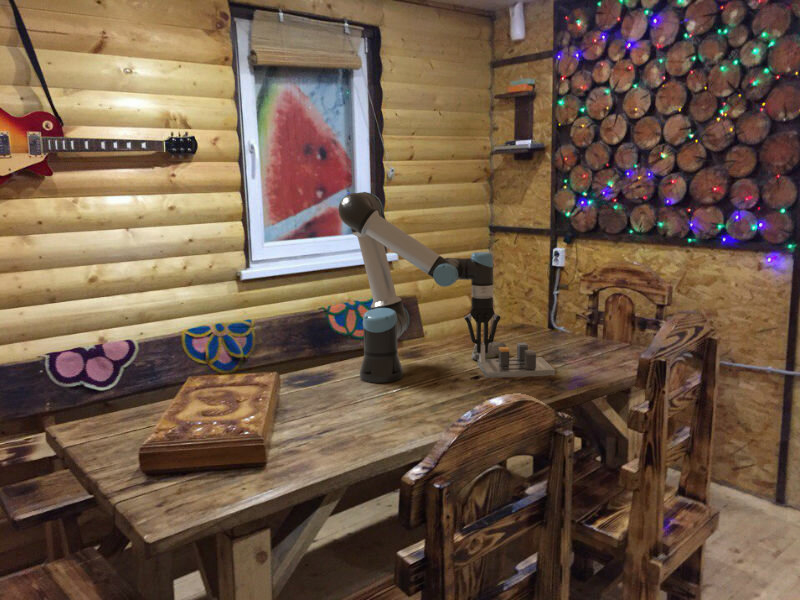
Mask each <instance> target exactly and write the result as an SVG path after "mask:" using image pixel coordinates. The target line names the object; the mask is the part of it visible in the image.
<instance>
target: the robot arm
mask: <svg viewBox="0 0 800 600" xmlns="http://www.w3.org/2000/svg"><path fill="white" fill-rule="evenodd" d="M383 211H384V207H383V203H382V202H381V200H380V198H379V197H378V196H377V195H375V194H373V193H371V192H367V191H362V192H352V193H348V194H346V195H345V196H343V197H342V199H341V200H340V202H339V205H338V216H339V218H340V219H341V221H342V222H343V223H344V224H345V225H346V226H348V227H349V228H351V229H350V231H351V234H352V235H354V236H355V237H357V240H358V244H359V249H360V253H361V256H362V260H363V263H364V268H365V272H366V276H367V281H368V284H369V289H370V292H371V296H372V299H373V300H372V302H371V305H370V309H369V310H367V311H366V312H365V313H364V314H363V319H362V329H363V330H362V331H363V350H364V351H363V359H362V363H361V366H360V369H359V378H360V379H361V381H364V382H367V383H375V384H376V383H377V384H378V383H379V384H381V383H385V384H386V383H392V382H396V381H399V380H401V379H402V378H403V376H404V371H403V369H404V368H403V366H402V364H401V363H402V362H401V360H400V357H399V355H398V339H399V337H401V336H403V335H404V334H405V333H406V331H407V330H408V327H409V325H410V314H409V312H408V310H407V309H406V308H405V307H404V305H403V304H404V303H403V300H402V298H400V297H399V296H398V295H397V293H396V289H395V285H394V281H393V278H392V277H393V276H392V273H391V268H390V264H389V260H388V256H387V252H386V248H387V249H389V250H390V251H391V252H393V253H395V254H396V255H397V256H399V257H400V258H402V259H404V260H406V261H407V262H409V263H410V264H411V265H412V266H415V268H418V269H419V270H420V271H422V272H424V273H425V274H427V275H428V276H429V277H431V278H432V279H433V280H434V281H435V283H436V285H438V286H440V287H445V288H446V287H450V286H452V285H454V284H455V283H456V282H457V281H458V280H459V281H460V280H463V281H465V280H467V281H468V280H469V281H471V296H472V297H471V309H470V311H469V314H467V315H464V316H463V319H464V320H465V322H466V324H467V328H468V333H469V336H470V341H471V343H472V344H474V345H475V344H477V353H479V361H480V362H481V363H485V353H488V344H489V343H492V342H494V340H495V337H496V336H495V335H496V331H497V327H498V323H499V322H500V320H501V315H499V314H496V313H495V310H494V298H493V295H494V256H493V254H492V253H491V252H487V251H478V252H477V251H476V252H472V253H471V254H470V255H471V257H468V258H461V257H459V258H457V257H454V258H453V257H445V258H444V256H441V255H439V254H438V253H437V252H435V250H432V248H429V247H427V246H426V245H425V244H423V243H421V242H420V241H418V239H416V238H414V237H412V236H411V235H409V234H408V233H406V232H405V231H403V230H402V229H400V228H399V227H397V226H396V225H394V223H393V224H392V223H391V222H389V220H387V219H385V218H384V217H383V213H384V212H383ZM472 319H473V320H474V321H475V325H476V327H475V330H476V331H475V332H476V333H474V329H473V324H472ZM491 319H492V320H493V321H492V324H491V328H490V332H489V323H490V321H491ZM482 324H483V342H482ZM475 335H476V336H475Z"/></svg>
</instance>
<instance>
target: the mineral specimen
mask: <svg viewBox="0 0 800 600" xmlns="http://www.w3.org/2000/svg"><path fill="white" fill-rule="evenodd" d="M499 347H507V345H506V344H505V343H504V342H497V341H493V342H492V343H489V344H488V353H485V359H495V358H496V357H499ZM471 359H472V360H474V361H478V359H479V353H477V344H475V343H474V347H473V350H472V352H471Z"/></svg>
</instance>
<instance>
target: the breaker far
mask: <svg viewBox="0 0 800 600" xmlns="http://www.w3.org/2000/svg"><path fill="white" fill-rule="evenodd" d="M516 345H517V346H516V358H517V359H518V360H519V361H522V360H525V350H529V345H528V343H527V342H517V343H516Z"/></svg>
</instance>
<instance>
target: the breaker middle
mask: <svg viewBox="0 0 800 600" xmlns="http://www.w3.org/2000/svg"><path fill="white" fill-rule="evenodd" d="M509 358H510V348H509V347H508V346H506V347H499V355H498V359H499V364H500V365H501V366H504V365H509Z"/></svg>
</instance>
